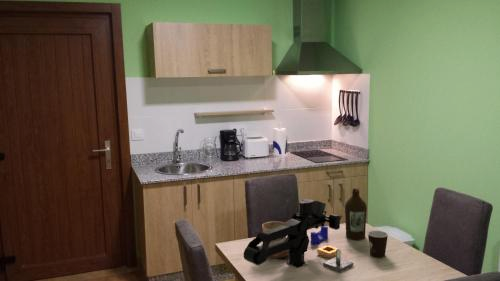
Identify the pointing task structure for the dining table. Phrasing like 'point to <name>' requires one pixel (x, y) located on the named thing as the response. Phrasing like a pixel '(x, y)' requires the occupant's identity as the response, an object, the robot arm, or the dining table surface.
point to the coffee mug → (377, 243)
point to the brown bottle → (355, 216)
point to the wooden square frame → (327, 251)
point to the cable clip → (319, 235)
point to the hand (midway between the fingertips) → (333, 214)
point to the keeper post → (338, 263)
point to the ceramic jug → (272, 225)
